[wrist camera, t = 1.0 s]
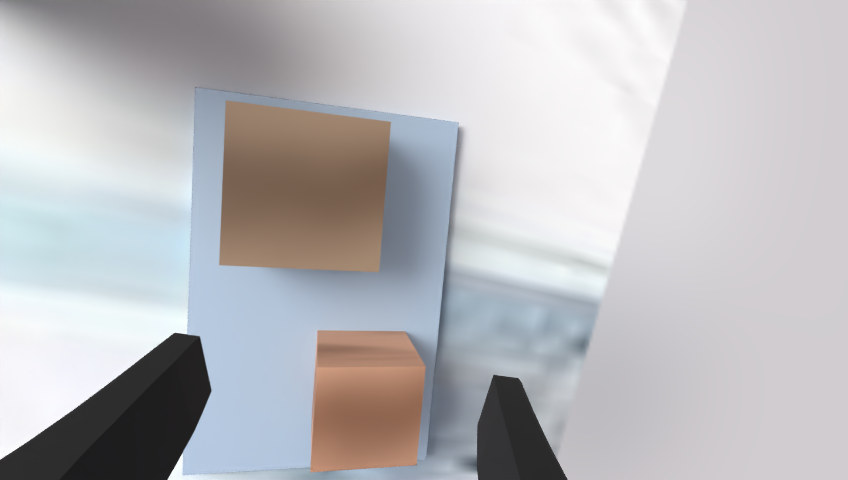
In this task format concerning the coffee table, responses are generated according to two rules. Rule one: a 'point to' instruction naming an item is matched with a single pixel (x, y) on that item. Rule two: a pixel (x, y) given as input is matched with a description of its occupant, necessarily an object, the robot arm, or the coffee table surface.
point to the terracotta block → (365, 400)
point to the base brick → (302, 189)
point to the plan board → (307, 295)
